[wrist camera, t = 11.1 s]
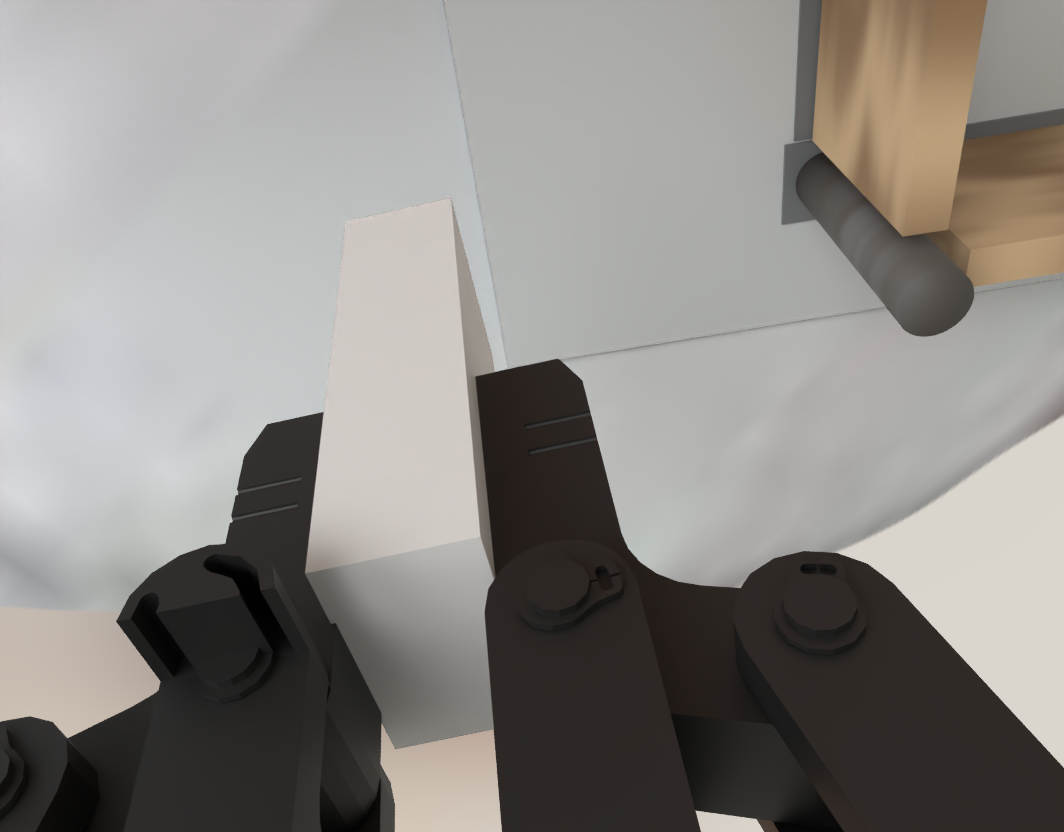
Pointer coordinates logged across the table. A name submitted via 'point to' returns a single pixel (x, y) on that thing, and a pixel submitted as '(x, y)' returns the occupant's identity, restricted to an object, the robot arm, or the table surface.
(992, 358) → the table surface
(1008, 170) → the fence panel fixed
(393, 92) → the table surface
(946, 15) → the fence panel hinged
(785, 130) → the board
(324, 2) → the table surface
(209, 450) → the table surface
